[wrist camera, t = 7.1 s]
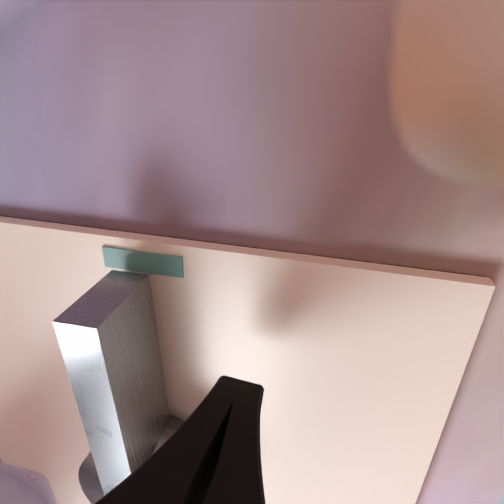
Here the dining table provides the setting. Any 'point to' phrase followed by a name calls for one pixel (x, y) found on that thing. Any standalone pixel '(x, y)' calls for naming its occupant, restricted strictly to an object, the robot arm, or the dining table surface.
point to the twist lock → (116, 378)
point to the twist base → (248, 354)
